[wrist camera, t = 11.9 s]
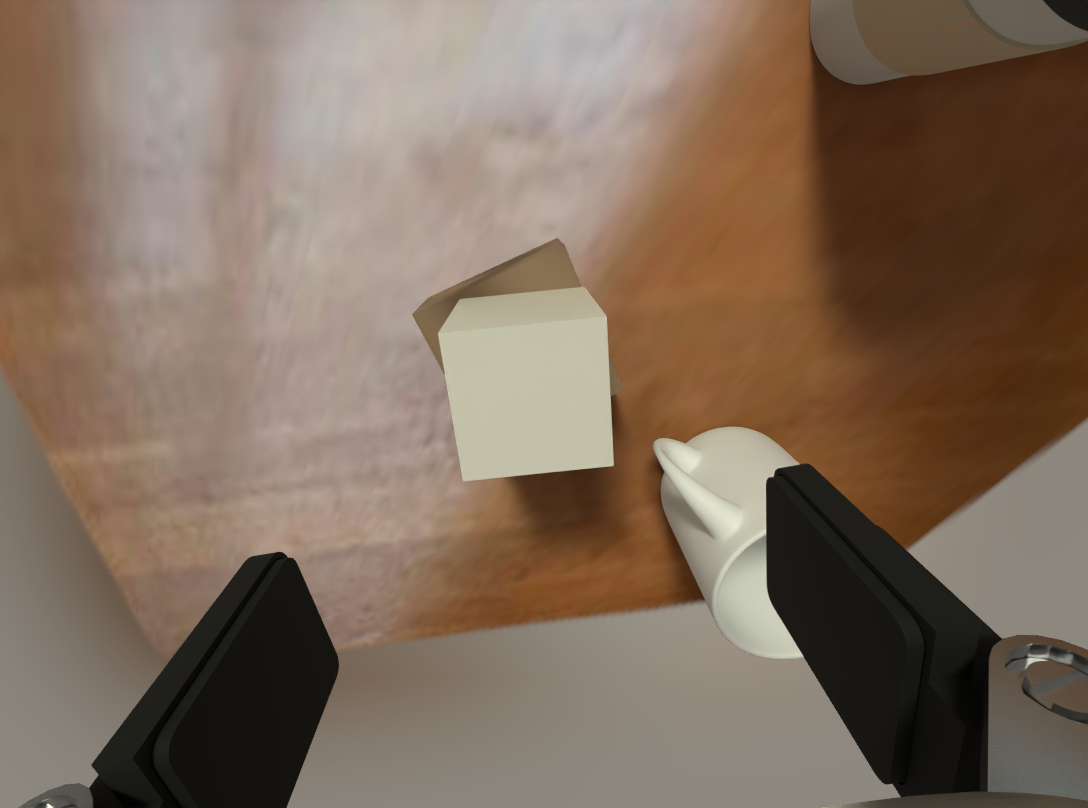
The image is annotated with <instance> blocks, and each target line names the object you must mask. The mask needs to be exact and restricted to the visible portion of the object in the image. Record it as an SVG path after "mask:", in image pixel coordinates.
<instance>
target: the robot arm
mask: <svg viewBox="0 0 1088 808" xmlns="http://www.w3.org/2000/svg"><path fill="white" fill-rule="evenodd" d="M766 575H767V592H768V596H769V599H770V601H771V604H772V605H773V607H774V609H775V611H776V612H777V614H778V616H779V617H780V619H781V620H782V622H783V624H784V625H785V627H786V629H787V630H788V632H789V634H790V635H791V637H792V638H793V640H794V642H795V643H796V645H797V647H798V648H799V650H800V652H801V653H802V655H803V656H804V658H805V660H806V661H807V663H808V665H809V666H810V668H811V670H812V671H813V673H814V674H815V676H816V678H817V679H818V681H819V683H820V684H821V686H822V687H823V689H824V691H825V692H826V694H827V696H828V697H829V699H830V701H831V702H832V704H833V705H834V707H835V709H836V711H837V712H838V714H839V715H840V717H841V719H842V720H843V722H844V724H845V725H846V727H847V729H848V730H849V732H850V733H851V735H852V737H853V738H854V740H855V742H856V743H857V745H858V746H859V748H860V750H861V751H862V753H863V755H864V756H865V758H866V760H867V761H868V763H869V764H870V766H871V768H872V769H873V771H874V773H875V774H876V775H877V777H878V778H879V779H880V780H881V781H882V783H884V784H893V785H894V787H895V788H896V790H897V791H898V793H899V795H900V796H901V797H899V798H892V799H884V800H875V801H868V802H859V803H851V804H843V805H834V806H826V807H819V808H1088V650H1086V649H1084V648H1082V647H1079V646H1076V645H1073V644H1070V643H1068V642H1065V641H1062V640H1058V639H1053V638H1048V637H1043V636H1038V635H1016V636H1012V637H1008V638H1004V639H1002V638H1001V637H999V636H998V635H997V634H996V633H995V632H994V631H993V630H992V629H991V628H990V627H989V626H988V625H986V624H985V623H984V622H983V621H982V620H981V619H980V618H979V617H978V616H977V615H976V614H975V613H973V612H972V611H971V610H970V609H969V608H968V607H967V606H966V605H965V604H964V603H963V602H961V601H960V600H959V599H958V598H957V597H956V596H955V595H954V594H953V593H952V592H951V591H950V590H948V588H946V587H945V586H944V585H943V584H942V583H941V582H940V581H939V580H938V579H937V578H936V577H935V576H933V575H932V574H931V573H930V572H929V571H928V570H927V569H926V568H925V567H924V566H923V565H921V564H920V563H919V562H918V561H917V560H916V559H915V558H914V557H913V556H912V555H911V554H910V553H909V552H907V551H906V550H905V549H904V548H903V547H902V546H901V545H900V544H899V543H898V542H897V541H896V540H894V539H893V538H892V537H891V536H890V535H889V534H888V533H887V532H886V531H884V530H883V529H882V528H880V527H879V526H876V525H875V524H874V523H872V522H871V521H870V520H869V519H868V518H867V517H866V516H865V515H864V514H863V513H862V512H861V511H860V510H859V509H857V508H856V507H855V506H854V505H853V504H852V503H851V502H850V501H849V500H848V499H847V498H846V497H845V496H844V495H842V494H841V493H840V492H839V491H838V490H837V489H836V488H835V487H834V486H833V485H832V484H831V483H830V482H829V481H827V480H826V479H825V478H824V477H823V476H822V475H821V474H820V473H819V472H818V471H817V470H816V469H815V468H814V467H812V466H811V465H810V464H800V465H794V466H788V467H782V468H778V469H776V470H775V473H774V477H769V478H768V479H767V481H766ZM338 668H339V661H338V656H337V653H336V651H335V649H334V646H333V644H332V642H331V640H330V637H329V635H328V633H327V631H326V628H325V626H324V624H323V621H322V619H321V617H320V615H319V612H318V610H317V608H316V605H315V603H314V601H313V599H312V596H311V594H310V592H309V590H308V587H307V585H306V583H305V580H304V578H303V576H302V574H301V571H300V569H299V567H298V565H297V563H296V561H295V560H294V559H293V558H288V557H287V556H286V555H285V554H284V553H282V552H276V553H270V554H264V555H258V556H252V557H250V558H248V559H247V560H246V561H245V562H244V564H243V565H242V566H241V568H240V569H239V570H238V572H237V573H236V574H235V576H234V577H233V578H232V579H231V581H230V582H229V583H228V585H227V586H226V587H225V589H224V590H223V591H222V593H221V594H220V595H219V597H218V598H217V599H216V601H215V602H214V603H213V605H212V606H211V607H210V609H209V610H208V611H207V613H206V614H205V615H204V616H203V618H202V619H201V620H200V622H199V623H198V624H197V626H196V627H195V628H194V630H193V631H192V632H191V634H190V635H189V636H188V638H187V639H186V640H185V642H184V643H183V644H182V646H181V647H180V648H179V650H178V651H177V652H176V653H175V655H174V656H173V657H172V659H171V660H170V661H169V663H168V664H167V665H166V667H165V668H164V669H163V671H162V672H161V673H160V675H159V676H158V677H157V679H156V680H155V681H154V683H153V684H152V685H151V687H150V688H149V689H148V691H147V692H146V693H145V694H144V696H143V697H142V698H141V700H140V701H139V702H138V704H137V705H136V706H135V708H134V709H133V710H132V712H131V713H130V714H129V716H128V717H127V718H126V720H125V721H124V722H123V724H122V725H121V726H120V728H119V729H118V730H117V731H116V733H115V734H114V735H113V737H112V738H111V739H110V741H109V742H108V743H107V745H106V746H105V747H104V749H103V750H102V751H101V753H100V754H99V755H98V757H97V758H96V759H95V761H94V762H93V763H92V767H93V768H94V769H95V770H96V772H97V773H98V774H99V775H98V777H97V778H96V779H95V781H94V782H93V784H92V785H91V786H90V788H88V787H86V786H84V785H82V784H80V783H79V784H66V785H63V786H60V787H57V788H54V789H51V790H48V791H46V792H44V793H43V794H41V795H39V796H37V797H35V798H33V799H31V800H30V801H28V802H26V803H25V804H23V805H22V806H21V807H19V808H286V807H287V805H288V802H289V800H290V797H291V794H292V792H293V789H294V787H295V784H296V781H297V779H298V776H299V774H300V771H301V768H302V766H303V763H304V760H305V758H306V755H307V753H308V750H309V748H310V745H311V742H312V740H313V737H314V735H315V732H316V729H317V727H318V724H319V721H320V719H321V716H322V714H323V711H324V709H325V706H326V703H327V701H328V698H329V695H330V693H331V690H332V688H333V685H334V683H335V680H336V677H337V674H338Z"/></svg>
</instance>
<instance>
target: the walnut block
mask: <svg viewBox="0 0 1088 808" xmlns="http://www.w3.org/2000/svg"><path fill="white" fill-rule="evenodd" d="M576 287H581V285H580V282H579V280H578V277H577V275H576V272H575V270H574V268H573V265H572V263H571V260H570V258H569V255H568V253H567V250H566V248H565V245H564V244H563V243H562V242H561V241H560V240H559V239H558V238H556V239H554V240H552V241H550V242H547V243H545V244H543V245H541V246H539V247H537V248H535V249H532V250H530V251H528V252H526V253H524V254H522V255H519V256H517V257H515V258H513V259H511V260H509V261H507V262H504V263H502V264H500V265H498V266H496V267H494V268H491V269H489V270H487V271H485V272H483V273H481V274H478V275H476V276H474V277H472V278H470V279H468V280H466V281H463V282H461V283H459V284H457V285H455V286H453V287H450V288H448V289H446V290H444V291H442V292H440V293H438V294H435V295H433V296H431V297H429V298H428V299H427V300H426V301H425V302H424V303H423V304H422V305H421V306H420V307H419V308H418V309H417V310H416V311H415V312H414V313H413V314H412V315H413V317H414V319H415V321H416V323H417V325H418V326H419V328H420V330H421V332H422V334H423V336H424V337H425V339H426V341H427V343H428V345H429V347H430V348H431V350H432V352H433V354H434V356H435V358H436V360H437V361H438V363H439V365H440V367H441V369H442V371H443V372H444V366H443V360H442V355H441V349H440V343H439V337H438V332H439V331H440V329H441V328H442V326H443V325H444V323H445V321H446V320H447V318H448V317H449V315H450V314H451V312H452V310H453V309H454V307H455V306H456V304H457V303H458V301H459V300H460V299H466V298H476V297H486V296H496V295H506V294H516V293H526V292H536V291H546V290H556V289H566V288H576ZM608 356H609V353H608ZM444 374H445V372H444ZM609 376H610V397H611V396H613V395H615V394H618V393H620V392H622V391H624V390H623V388H622V385H621V383H620V380H619V378H618V376H617V373H616V371H615V368H614V366H613V363H612V361H611V358H610V356H609Z"/></svg>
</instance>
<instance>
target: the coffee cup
mask: <svg viewBox="0 0 1088 808" xmlns="http://www.w3.org/2000/svg"><path fill="white" fill-rule="evenodd" d="M809 27H810V35H811V40H812V44H813V47H814V50H815V53H816V55H817V57H818V59H819V61H820V62H821V64H822V65H823V66H824V67H825V69H826V70H827V71H828V72H829V73H831V74H832V75H833V76H835V77H836V78H838V79H840V80H842V81H844V82H847V83H851V84H857V85H866V84H873V83H878V82H883V81H887V80H892V79H897V78H901V77H906V76H911V75H917V76H921V75H931V74H936V73H941V72H946V71H951V70H956V69H961V68H966V67H971V66H976V65H982V64H987V63H992V62H997V61H1002V60H1007V59H1012V58H1017V57H1022V56H1027V55H1032V54H1037V53H1042V52H1047V51H1052V50H1057V49H1062V48H1067V47H1070V46H1074V45H1077V44H1080V43H1083V42H1086V41H1088V0H811V5H810V14H809Z"/></svg>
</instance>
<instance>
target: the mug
mask: <svg viewBox="0 0 1088 808" xmlns="http://www.w3.org/2000/svg"><path fill="white" fill-rule="evenodd" d="M653 450H654V452H655V454H656V457H657V459H658V461H659V463H660V465H661V466H662V468H663V470H664V474H663V476H662V481H661V490H660V492H661V502H662V506H663V509H664V512H665V515H666V517H667V519H668V522H669V524H670V526H671V528H672V530H673V533H674V535H675V537H676V539H677V541H678V543H679V545H680V547H681V550H682V552H683V554H684V556H685V558H686V560H687V562H688V565H689V567H690V569H691V571H692V573H693V575H694V577H695V579H696V582H697V584H698V586H699V588H700V590H701V592H702V594H703V597H704V599H705V601H706V603H707V605H708V607H709V609H710V611H711V613H712V616H713V618H714V620H715V622H716V624H717V626H718V628H719V629H720V631H721V633H722V634H723V635H724V636H725V637H726V638H727V639H728V641H730V642H731V643H732V644H733V645H735V646H736V647H738V648H739V649H741V650H743V651H745V652H747V653H749V654H752V655H755V656H758V657H762V658H768V659H777V660H787V659H798V658H804V656H803V655H802V653H801V652H800V650H799V648H798V647H797V645H796V643H795V642H794V640H793V638H792V637H791V635H790V634H789V632H788V630H787V629H786V627H785V625H784V624H783V622H782V620H781V619H780V617H779V616H778V614H777V612H776V611H775V609H774V607H773V605H772V604H771V601H770V599H769V596H768V592H767V575H766V481H767V479H768V478H769V477H774V473H775V470H776V469H778V468H782V467H788V466H794V465H800V464H799V463H798V462H797V461H796V460H795V459H794V458H792V457H791V456H790V455H789V454H788V453H787V452H786V451H785V450H784V449H783V448H782V447H781V446H779V445H778V444H777V443H776V442H774V441H773V440H772V439H770V438H769V437H767V436H765V435H764V434H762V433H760V432H757V431H755V430H752V429H748V428H743V427H723V428H716V429H713V430H709V431H706V432H704V433H701V434H699V435H697V436H695V437H694V438H692V439H691V440H689V441H688V442H686V443H682V442H679V441H676V440H672V439H668V438H660V439H657V440H656V441H655V442H654V443H653Z"/></svg>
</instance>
